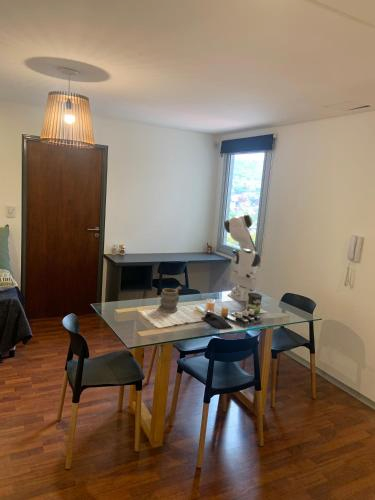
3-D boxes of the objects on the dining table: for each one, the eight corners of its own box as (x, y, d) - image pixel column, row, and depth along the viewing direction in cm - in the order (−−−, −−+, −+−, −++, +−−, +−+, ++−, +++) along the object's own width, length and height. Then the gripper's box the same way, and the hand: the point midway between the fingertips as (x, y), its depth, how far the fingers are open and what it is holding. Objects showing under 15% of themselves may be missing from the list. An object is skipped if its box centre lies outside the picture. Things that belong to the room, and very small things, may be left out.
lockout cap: (219, 316, 256) (220, 307, 255) (223, 314, 259) (224, 306, 258) (224, 318, 253) (225, 309, 252) (228, 317, 256) (229, 308, 255)
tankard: (169, 314, 250) (171, 293, 247) (155, 308, 257) (157, 288, 254) (186, 308, 265) (189, 288, 263) (173, 303, 273) (175, 283, 270)
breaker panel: (224, 319, 251) (224, 313, 250) (242, 314, 265) (242, 308, 264) (243, 327, 239) (244, 321, 238) (261, 322, 253) (262, 316, 252)
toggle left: (236, 316, 246) (237, 312, 245) (238, 316, 247) (239, 311, 247) (240, 318, 243) (240, 313, 243) (242, 317, 245) (242, 313, 245)
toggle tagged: (242, 315, 250) (243, 310, 250) (244, 314, 252) (245, 309, 251) (246, 316, 248) (246, 311, 247) (248, 315, 250) (248, 311, 249)
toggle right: (248, 313, 255) (249, 309, 254) (250, 312, 256) (251, 308, 256) (251, 314, 253) (252, 310, 252) (254, 314, 254) (254, 310, 254)
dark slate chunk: (214, 330, 230) (214, 323, 229) (199, 317, 250) (200, 311, 249) (235, 329, 236) (236, 322, 235) (219, 316, 256) (220, 310, 255)
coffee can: (262, 315, 266) (264, 297, 264) (250, 316, 262) (252, 297, 260) (254, 310, 276) (257, 292, 273) (242, 311, 272) (245, 292, 269)
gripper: (229, 269, 254) (227, 288, 256) (253, 277, 239) (250, 297, 242) (235, 268, 258) (232, 287, 261) (259, 276, 244) (256, 295, 246)
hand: (241, 292), depth 251 cm, fingers open, 6 cm apart
